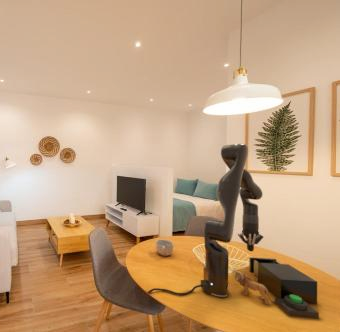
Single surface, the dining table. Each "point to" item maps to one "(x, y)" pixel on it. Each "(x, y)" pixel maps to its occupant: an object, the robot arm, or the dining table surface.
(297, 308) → the control block
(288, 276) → the cabinet
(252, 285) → the lion figurine
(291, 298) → the button
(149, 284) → the dining table surface
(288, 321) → the dining table surface
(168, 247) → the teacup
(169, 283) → the dining table surface
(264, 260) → the drawer
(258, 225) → the robot arm
